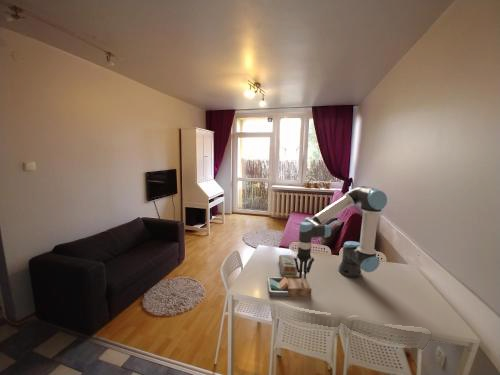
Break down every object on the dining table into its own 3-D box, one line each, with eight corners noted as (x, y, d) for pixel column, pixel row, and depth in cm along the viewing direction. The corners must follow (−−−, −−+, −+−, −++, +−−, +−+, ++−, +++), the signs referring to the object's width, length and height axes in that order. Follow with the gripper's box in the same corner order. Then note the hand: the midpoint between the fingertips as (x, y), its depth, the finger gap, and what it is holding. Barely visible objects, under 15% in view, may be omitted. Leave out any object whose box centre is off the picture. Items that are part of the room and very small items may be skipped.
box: (284, 281, 151) (284, 277, 150) (288, 296, 135) (288, 292, 134) (267, 280, 151) (267, 276, 150) (269, 296, 135) (269, 291, 134)
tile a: (287, 278, 145) (284, 277, 144) (288, 284, 139) (286, 282, 139) (280, 285, 145) (278, 283, 145) (282, 291, 140) (279, 289, 139)
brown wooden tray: (305, 282, 150) (305, 276, 149) (310, 296, 136) (311, 288, 135) (284, 282, 150) (284, 275, 149) (287, 295, 136) (288, 288, 135)
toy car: (291, 262, 177) (292, 250, 175) (297, 280, 152) (298, 266, 151) (278, 261, 177) (278, 250, 175) (281, 279, 153) (282, 266, 151)
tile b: (270, 278, 145) (269, 280, 145) (271, 283, 139) (269, 286, 139) (278, 282, 145) (276, 285, 145) (279, 288, 139) (278, 290, 139)
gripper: (313, 244, 142) (310, 279, 146) (292, 244, 142) (290, 278, 146) (316, 250, 134) (314, 286, 138) (295, 249, 134) (292, 285, 138)
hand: (302, 282), depth 142 cm, fingers closed
